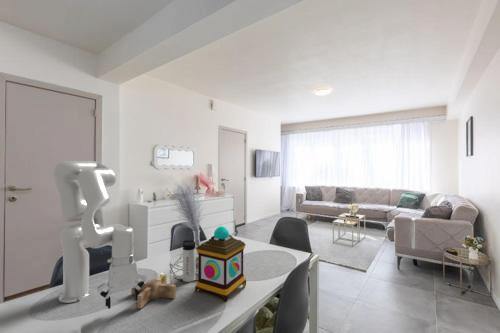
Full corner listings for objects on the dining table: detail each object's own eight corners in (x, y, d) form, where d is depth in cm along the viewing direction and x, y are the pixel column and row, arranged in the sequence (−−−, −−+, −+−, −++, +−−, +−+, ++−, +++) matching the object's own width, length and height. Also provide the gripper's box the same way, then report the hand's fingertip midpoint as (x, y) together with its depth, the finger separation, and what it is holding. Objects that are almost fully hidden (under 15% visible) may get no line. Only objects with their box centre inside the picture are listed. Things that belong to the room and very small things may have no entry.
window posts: (159, 283, 119) (159, 273, 119) (170, 280, 123) (170, 270, 123) (162, 288, 115) (162, 277, 115) (174, 284, 118) (174, 274, 118)
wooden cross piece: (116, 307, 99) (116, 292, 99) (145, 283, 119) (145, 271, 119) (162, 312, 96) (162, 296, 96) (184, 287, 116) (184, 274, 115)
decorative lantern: (216, 276, 129) (216, 219, 129) (250, 285, 120) (250, 224, 120) (190, 294, 112) (190, 228, 111) (227, 306, 102) (227, 234, 102)
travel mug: (189, 277, 129) (190, 238, 129) (198, 281, 124) (198, 241, 124) (179, 281, 124) (179, 241, 124) (187, 285, 120) (187, 244, 120)
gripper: (97, 268, 89) (97, 315, 89) (148, 257, 99) (148, 300, 99) (96, 261, 95) (96, 305, 95) (144, 252, 105) (144, 292, 105)
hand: (122, 303), depth 97 cm, fingers open, 9 cm apart
